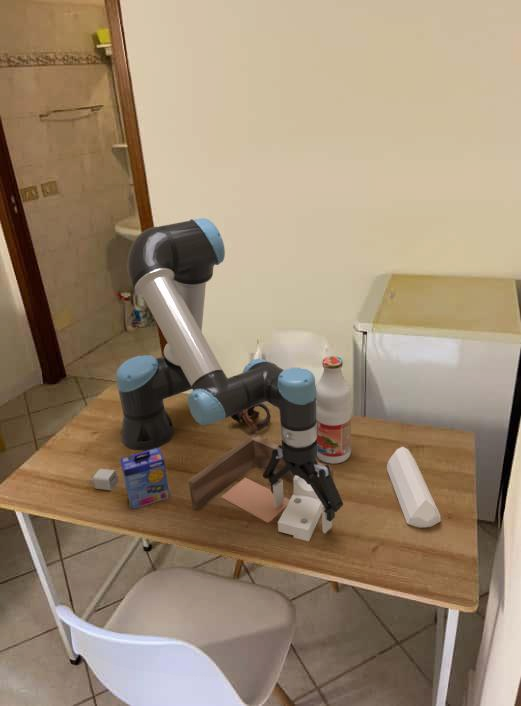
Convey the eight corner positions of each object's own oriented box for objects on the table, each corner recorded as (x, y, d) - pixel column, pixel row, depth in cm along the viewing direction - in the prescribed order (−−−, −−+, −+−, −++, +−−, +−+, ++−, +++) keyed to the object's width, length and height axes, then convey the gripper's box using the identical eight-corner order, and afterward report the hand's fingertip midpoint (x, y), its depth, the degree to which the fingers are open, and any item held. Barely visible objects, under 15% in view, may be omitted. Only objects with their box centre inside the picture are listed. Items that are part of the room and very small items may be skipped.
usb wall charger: (111, 491, 139) (108, 479, 138) (86, 488, 141) (83, 476, 139) (118, 481, 143) (115, 469, 141) (94, 479, 145) (91, 466, 143)
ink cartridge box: (131, 511, 132) (121, 462, 126) (127, 497, 137) (116, 449, 131) (171, 498, 136) (163, 449, 129) (165, 485, 140) (157, 438, 134)
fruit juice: (357, 459, 145) (358, 364, 133) (324, 468, 142) (323, 372, 130) (340, 440, 153) (340, 349, 141) (309, 448, 151) (307, 356, 138)
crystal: (377, 453, 141) (402, 519, 119) (402, 440, 139) (432, 505, 117) (391, 472, 143) (417, 541, 122) (416, 459, 142) (446, 526, 120)
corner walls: (192, 507, 132) (188, 480, 129) (254, 459, 148) (252, 434, 144) (273, 554, 117) (271, 525, 114) (333, 495, 133) (333, 468, 129)
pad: (220, 497, 135) (220, 496, 135) (245, 478, 141) (245, 477, 141) (268, 523, 126) (268, 522, 126) (292, 501, 132) (292, 500, 132)
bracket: (298, 497, 134) (296, 472, 130) (326, 503, 131) (325, 478, 128) (278, 534, 123) (276, 508, 120) (308, 542, 120) (308, 515, 117)
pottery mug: (267, 415, 168) (273, 401, 162) (266, 443, 162) (272, 429, 156) (228, 409, 167) (232, 395, 160) (225, 437, 161) (230, 423, 154)
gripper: (243, 428, 121) (250, 504, 131) (339, 469, 107) (340, 551, 116) (265, 413, 127) (270, 487, 136) (360, 450, 112) (358, 530, 121)
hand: (302, 516), depth 126 cm, fingers open, 13 cm apart
